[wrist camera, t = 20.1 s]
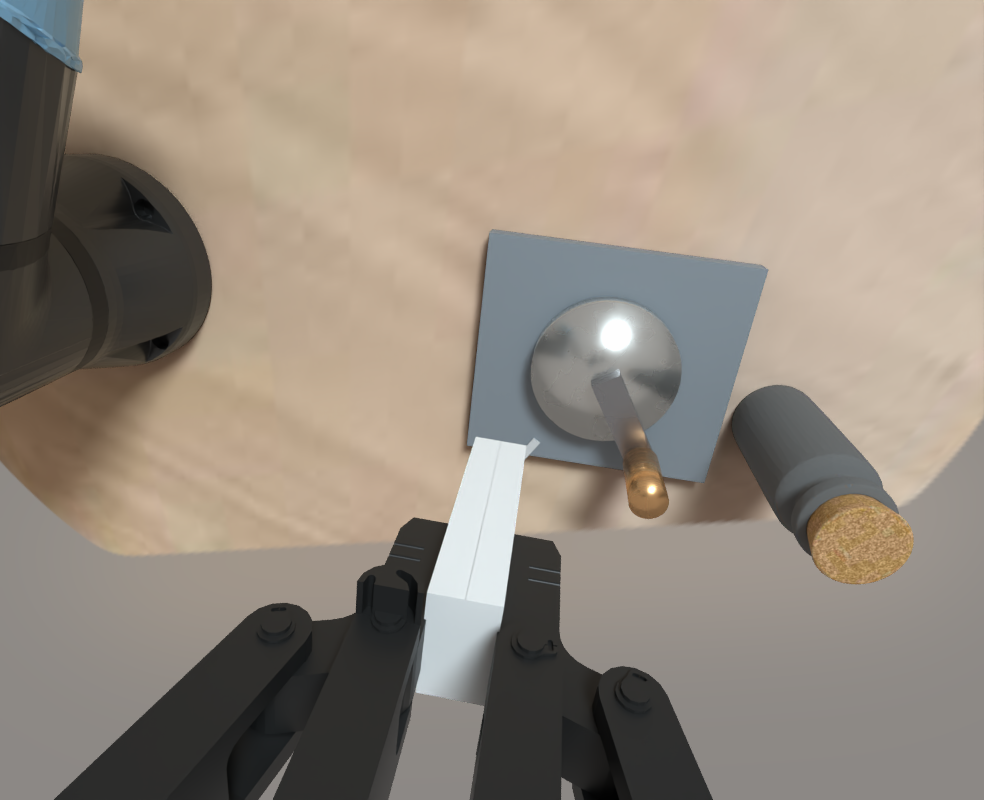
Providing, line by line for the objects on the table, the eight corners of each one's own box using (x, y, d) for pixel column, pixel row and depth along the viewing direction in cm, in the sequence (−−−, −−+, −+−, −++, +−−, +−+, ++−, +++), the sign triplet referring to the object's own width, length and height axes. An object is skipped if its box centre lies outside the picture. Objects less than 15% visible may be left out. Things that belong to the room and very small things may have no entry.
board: (469, 442, 47) (465, 452, 46) (492, 229, 41) (489, 232, 39) (698, 478, 46) (703, 490, 45) (761, 265, 39) (769, 270, 38)
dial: (633, 469, 45) (645, 530, 38) (504, 379, 43) (491, 426, 36) (730, 369, 41) (763, 416, 34) (591, 266, 39) (595, 294, 32)
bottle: (825, 440, 44) (939, 575, 30) (744, 467, 45) (817, 606, 32) (802, 371, 42) (912, 481, 28) (719, 402, 44) (785, 519, 30)
